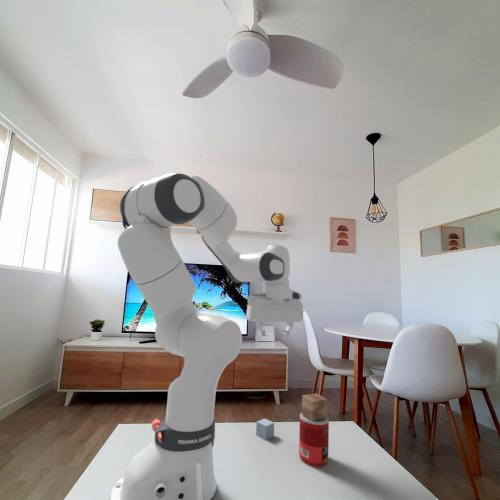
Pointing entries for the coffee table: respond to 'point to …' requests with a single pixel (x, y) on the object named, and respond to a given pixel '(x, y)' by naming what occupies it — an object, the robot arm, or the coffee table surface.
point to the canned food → (313, 441)
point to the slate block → (265, 429)
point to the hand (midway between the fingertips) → (274, 335)
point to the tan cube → (314, 407)
